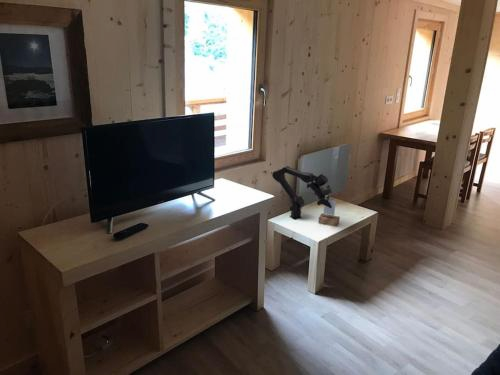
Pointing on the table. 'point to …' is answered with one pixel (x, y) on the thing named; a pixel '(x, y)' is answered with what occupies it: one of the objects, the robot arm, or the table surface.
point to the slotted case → (329, 220)
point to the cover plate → (330, 210)
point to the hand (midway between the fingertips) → (331, 207)
